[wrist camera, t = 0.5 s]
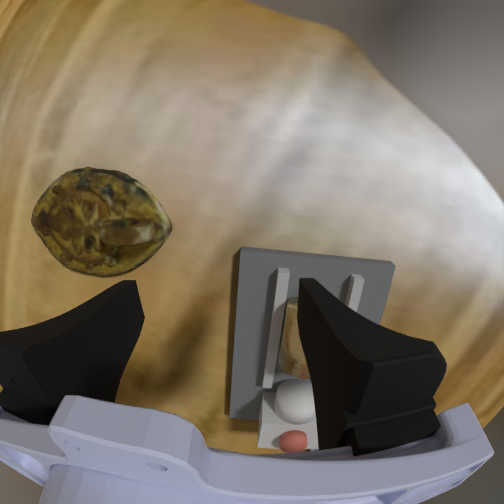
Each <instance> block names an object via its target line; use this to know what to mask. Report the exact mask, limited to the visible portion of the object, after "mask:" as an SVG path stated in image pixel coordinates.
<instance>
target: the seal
mask: <svg viewBox="0 0 504 504" xmlns="http://www.w3.org/2000/svg"><path fill="white" fill-rule="evenodd" d="M31 223H32V226H33V227H34V229H35V231H36V232H37V233H38V235H39V236H40V238H41V239H42V241H43V242H44V244H45V245H46V246H47V248H48V249H49V250H50V252H51V253H52V254H53V255H54V256H55V257H56V258H57V259H58V260H59V261H61V262H62V263H63V264H64V265H66V266H67V267H69V268H71V269H73V270H77V271H80V272H83V273H87V274H96V275H102V276H106V275H116V274H120V273H124V272H127V271H130V270H132V269H134V268H136V267H138V266H139V265H141V264H143V263H144V262H145V261H147V260H148V259H149V258H150V257H152V256H153V255H154V254H155V253H156V252H157V251H158V250H159V249H160V248H161V246H162V245H163V244H164V242H165V241H166V240H167V238H168V237H169V235H170V234H171V231H172V223H171V221H170V219H169V217H168V215H167V214H166V212H165V210H164V209H163V208H162V206H161V204H160V203H159V201H158V200H157V198H156V197H155V196H154V195H153V194H152V193H151V192H150V191H149V190H148V189H147V188H146V187H145V186H144V185H142V184H141V183H140V182H138V181H137V180H135V179H133V178H131V177H130V176H129V175H127V174H125V173H122V172H120V171H116V170H104V169H95V168H90V167H86V168H82V169H75V170H72V171H69V172H66V173H65V174H63V175H61V176H60V177H59V178H58V179H57V180H55V181H54V182H53V183H52V184H51V185H50V186H49V187H48V189H47V190H46V192H45V193H43V195H42V196H41V197H40V199H39V200H38V202H37V204H36V205H35V208H34V210H33V214H32V219H31Z"/></svg>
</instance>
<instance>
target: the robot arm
mask: <svg viewBox="0 0 504 504" xmlns="http://www.w3.org/2000/svg"><path fill="white" fill-rule="evenodd" d="M144 319H145V316H144V313H143V309H142V305H141V301H140V297H139V293H138V288H137V284H136V280H123V281H121V282H119V283H117V284H115V285H113V286H111V287H110V288H108V289H106V290H105V291H103V292H101V293H100V294H98V295H97V296H95V297H93V298H92V299H90V300H88V301H86V302H85V303H83V304H81V305H79V306H78V307H76V308H74V309H72V310H70V311H68V312H66V313H64V314H62V315H60V316H57V317H55V318H52V319H49V320H47V321H44V322H41V323H39V324H35V325H32V326H28V327H24V328H20V329H15V330H9V331H3V332H0V384H1V386H2V387H3V390H2V391H1V393H0V460H1V461H2V462H4V463H5V464H7V465H8V466H10V467H12V468H13V469H15V470H16V471H18V472H19V473H21V474H23V475H25V476H26V477H27V478H29V479H31V480H33V481H34V482H36V483H38V484H39V485H41V486H43V487H44V490H43V492H42V495H41V498H40V501H39V504H418V503H420V502H423V501H425V500H427V499H430V498H432V497H434V496H437V495H439V494H441V493H443V492H445V491H448V490H450V489H452V488H454V487H456V486H458V485H459V484H460V483H462V482H463V481H464V480H465V479H466V478H468V477H469V476H470V475H471V474H472V473H474V472H475V471H476V470H477V469H478V468H480V467H481V466H482V465H483V464H484V463H485V462H486V461H487V460H488V459H489V458H490V457H491V456H493V454H494V451H493V449H492V447H491V445H490V443H489V441H488V439H487V437H486V435H485V433H484V431H483V429H482V427H481V425H480V423H479V422H478V420H477V418H476V416H475V414H474V412H473V411H472V409H471V407H470V405H469V404H468V403H464V404H461V405H459V406H456V407H453V408H450V409H448V410H445V411H443V412H441V413H440V414H439V415H438V416H436V414H435V412H434V410H433V409H435V407H436V403H435V401H434V399H433V396H434V394H435V392H436V390H437V389H438V387H439V385H440V383H441V382H442V380H443V377H444V375H445V372H446V367H447V363H446V361H445V358H444V357H443V355H442V354H441V352H440V351H439V349H438V348H437V346H436V345H435V344H434V342H432V341H427V340H423V339H418V338H414V337H410V336H407V335H404V334H401V333H398V332H395V331H393V330H390V329H387V328H385V327H383V326H381V325H379V324H376V323H374V322H372V321H370V320H369V319H367V318H365V317H363V316H362V315H360V314H358V313H357V312H355V311H354V310H352V309H351V308H349V307H348V306H347V305H345V304H344V303H343V302H341V301H340V300H339V299H338V298H336V297H335V296H334V295H333V294H332V293H330V292H329V291H328V290H327V289H326V288H325V287H324V286H322V285H321V284H320V283H319V282H318V281H317V280H316V279H315V278H299V292H298V308H297V323H298V330H299V337H300V341H301V345H302V348H303V352H304V356H305V359H306V363H307V367H308V370H309V374H310V378H311V383H312V390H313V397H314V405H315V414H316V424H317V435H318V449H310V451H308V452H297V453H283V454H254V455H252V454H244V453H238V452H232V451H226V450H220V449H215V448H210V447H207V446H206V444H205V441H204V438H203V435H202V434H201V433H200V432H199V430H198V429H197V428H196V427H195V426H194V424H192V423H191V422H190V421H188V420H186V419H184V418H182V417H180V416H178V415H176V414H174V413H170V412H166V411H162V410H158V409H152V408H145V407H138V406H131V405H125V404H119V403H114V402H115V398H116V394H117V390H118V386H119V383H120V379H121V377H122V374H123V371H124V369H125V367H126V365H127V362H128V360H129V358H130V356H131V354H132V351H133V349H134V347H135V345H136V343H137V340H138V338H139V336H140V333H141V329H142V326H143V322H144Z"/></svg>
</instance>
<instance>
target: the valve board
mask: <svg viewBox="0 0 504 504" xmlns="http://www.w3.org/2000/svg"><path fill="white" fill-rule="evenodd" d="M394 269H395V265H394V264H393V263H392V262H391V261H382V260H372V259H362V258H352V257H342V256H332V255H322V254H312V253H302V252H292V251H281V250H271V249H261V248H250V247H242V248H241V252H240V266H239V279H238V293H237V307H236V321H235V336H234V351H233V367H232V382H231V399H230V416H229V418H238V419H248V420H259V425H258V443H257V447H259V448H276V449H281V450H282V451H284V452H288V453H295V452H300V451H302V450H304V449H318V435H317V424H316V414H315V405H314V397H313V390H312V383H311V379H299V378H295V377H292V376H290V375H288V374H287V373H285V372H284V371H283V370H282V369H281V368H280V366H279V364H278V358H279V352H280V346H281V341H282V334H283V328H284V322H285V316H286V309H287V303H288V301H289V300H290V299H291V298H293V297H296V296H298V292H299V278H315V279H316V280H317V281H318V282H319V283H320V284H321V285H322V286H324V287H325V288H326V289H327V290H328V291H329V292H330V293H332V294H333V295H334V296H335V297H336V298H338V299H339V300H340V301H341V302H343V303H344V304H345V305H347V306H348V307H349V308H351V309H352V310H354V311H355V312H357V313H358V314H360V315H362V316H363V317H365V318H367V319H369V320H370V321H372V322H374V323H376V324H380V321H381V317H382V314H383V311H384V307H385V304H386V300H387V296H388V293H389V289H390V285H391V281H392V277H393V273H394Z"/></svg>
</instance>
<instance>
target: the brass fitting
mask: <svg viewBox="0 0 504 504" xmlns="http://www.w3.org/2000/svg"><path fill="white" fill-rule="evenodd" d="M297 308H298V296H296V297H293V298H291V299H290V300H289V301H288V303H287V309H286V316H285V322H284V328H283V334H282V341H281V346H280V352H279V358H278V364H279V366H280V368H281V369H282V370H283V371H284V372H285V373H287V374H288V375H290V376H292V377H295V378H299V379H311V378H310V374H309V370H308V367H307V363H306V359H305V356H304V352H303V348H302V345H301V341H300V337H299V330H298V323H297Z"/></svg>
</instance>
